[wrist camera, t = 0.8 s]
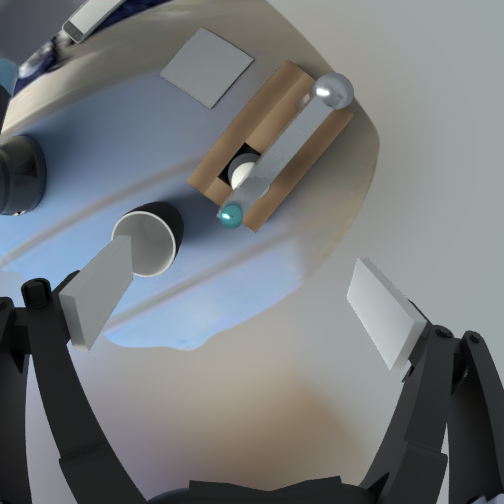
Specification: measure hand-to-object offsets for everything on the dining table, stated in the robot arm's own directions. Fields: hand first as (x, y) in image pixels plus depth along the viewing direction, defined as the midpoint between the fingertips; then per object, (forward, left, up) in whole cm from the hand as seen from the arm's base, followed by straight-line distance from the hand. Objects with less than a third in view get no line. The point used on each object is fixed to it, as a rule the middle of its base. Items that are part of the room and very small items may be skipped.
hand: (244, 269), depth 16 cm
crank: (-1, +8, -14) cm, 16 cm away
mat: (-16, +12, -28) cm, 34 cm away
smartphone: (-41, +13, -29) cm, 51 cm away
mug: (-7, -13, -28) cm, 32 cm away
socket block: (-1, +8, -28) cm, 29 cm away
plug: (-1, +3, -28) cm, 28 cm away
